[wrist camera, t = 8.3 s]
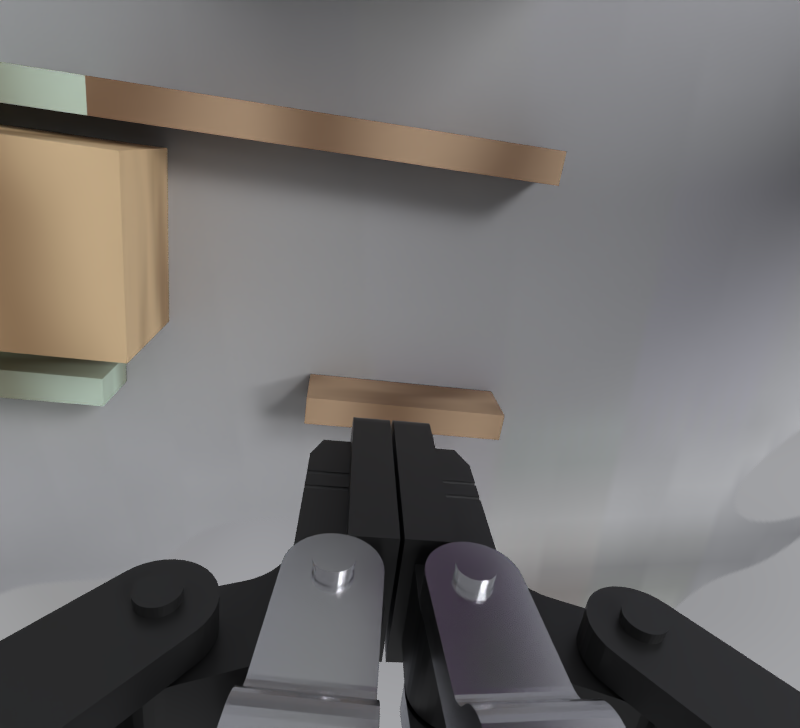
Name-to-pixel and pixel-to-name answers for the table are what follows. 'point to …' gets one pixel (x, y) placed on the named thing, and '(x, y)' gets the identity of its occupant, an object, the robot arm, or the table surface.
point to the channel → (292, 127)
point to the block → (81, 245)
